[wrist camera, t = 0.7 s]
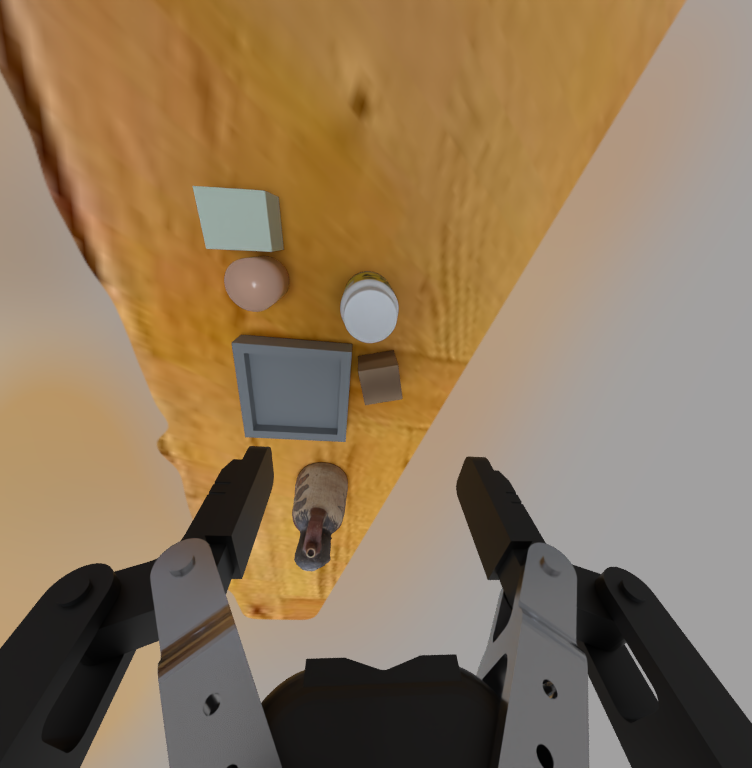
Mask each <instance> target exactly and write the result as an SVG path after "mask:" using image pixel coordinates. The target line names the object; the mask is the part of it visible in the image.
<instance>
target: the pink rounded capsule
mask: <svg viewBox="0 0 752 768" xmlns="http://www.w3.org/2000/svg"><path fill="white" fill-rule="evenodd" d="M224 283H225V288H226V291H227V293H228V295H229V297H230V298H231V299H232V300H233V301H234V302H235V303H236V304H237V305H238V306H240V307H241V308H243V309H245V310H248V311H255V312H257V311H263V310H265V309H267V308H269V307H270V306H271V305H273V304H274V303H275V302H277V301H278V300H279V299H280V298H282V297H283V296H284V295H285V294H286V292H287V291H288V288H289V275H288V273H287V270H286V269H285V267H284V266H283V265H282V264H281V263H280V262H279V261H278V260H276V259H274V258H272V257H269V256H258V257H251V258H243V259H239V260H236V261H234V262H233V263H232V264H230V266H229V267H228V268H227V270H226V273H225V278H224Z"/></svg>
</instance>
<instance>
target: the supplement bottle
mask: <svg viewBox="0 0 752 768" xmlns="http://www.w3.org/2000/svg"><path fill="white" fill-rule="evenodd" d="M340 311H341V316H342V319H343V322H344V324H345V326H346V328H347V330H348V332H349V333H350V334H351V335H352V336H353V337H354V338H356V339H357V340H359V341H362V342H366V343H375V342H379V341H381V340H383V339H385V338H386V337H388V336H389V335H390V334H391V333H392V331H393V330H394V328H395V325H396V322H397V317H398V311H399V306H398V301H397V298H396V295H395V293H394V292H393V290H392V288H391V287H390V285H389V283H388V282H387V281H386V279H385V278H384V277H382V276H381V275H379V274H377V273H375V272H370V271H365V272H360V273H358V274H356V275H354V276H353V277H352V278H351V279H350V280H349V281H348V283H347V285H346V287H345V290H344V293H343V296H342V300H341V305H340Z"/></svg>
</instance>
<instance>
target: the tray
mask: <svg viewBox="0 0 752 768" xmlns="http://www.w3.org/2000/svg"><path fill="white" fill-rule="evenodd" d="M232 349H233V356H234V363H235V370H236V376H237V383H238V390H239V397H240V404H241V411H242V418H243V424H244V431H245V437H255V438H276V439H297V440H317V441H338V442H345V440H346V426H347V412H348V398H349V384H350V370H351V356H352V344H346V343H334V342H322V341H310V340H298V339H286V338H274V337H262V336H250V335H240V336H239V337H238V338H236V339H235V340H234V341H233V342H232Z"/></svg>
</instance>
